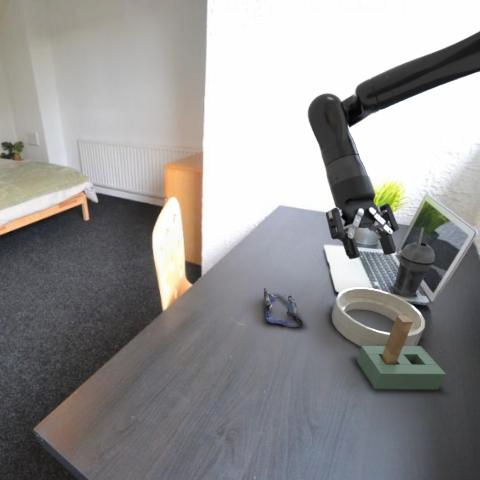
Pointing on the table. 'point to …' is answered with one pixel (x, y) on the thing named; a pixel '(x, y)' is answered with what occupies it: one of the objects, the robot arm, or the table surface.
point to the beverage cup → (413, 267)
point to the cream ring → (377, 303)
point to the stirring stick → (396, 340)
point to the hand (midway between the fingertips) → (372, 256)
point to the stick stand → (401, 369)
